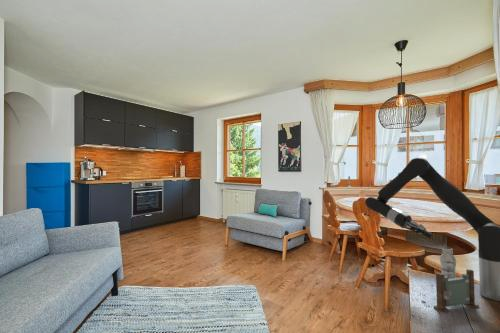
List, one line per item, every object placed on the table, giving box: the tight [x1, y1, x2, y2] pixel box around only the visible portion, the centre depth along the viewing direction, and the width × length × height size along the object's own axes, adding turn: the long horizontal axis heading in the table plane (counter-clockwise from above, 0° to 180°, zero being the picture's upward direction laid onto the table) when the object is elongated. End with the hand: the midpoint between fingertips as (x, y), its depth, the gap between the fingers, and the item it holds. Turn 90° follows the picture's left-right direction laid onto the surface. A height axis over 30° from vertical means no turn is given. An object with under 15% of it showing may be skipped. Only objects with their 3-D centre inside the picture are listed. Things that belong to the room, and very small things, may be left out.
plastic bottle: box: [439, 246, 457, 279], centre depth 123 cm, size 6×7×20 cm
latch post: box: [433, 272, 451, 314], centre depth 105 cm, size 4×4×15 cm
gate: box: [444, 273, 470, 308], centre depth 106 cm, size 12×2×12 cm, turn 102°
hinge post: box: [464, 269, 480, 309], centre depth 108 cm, size 4×4×15 cm
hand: (431, 236), depth 120 cm, fingers closed
